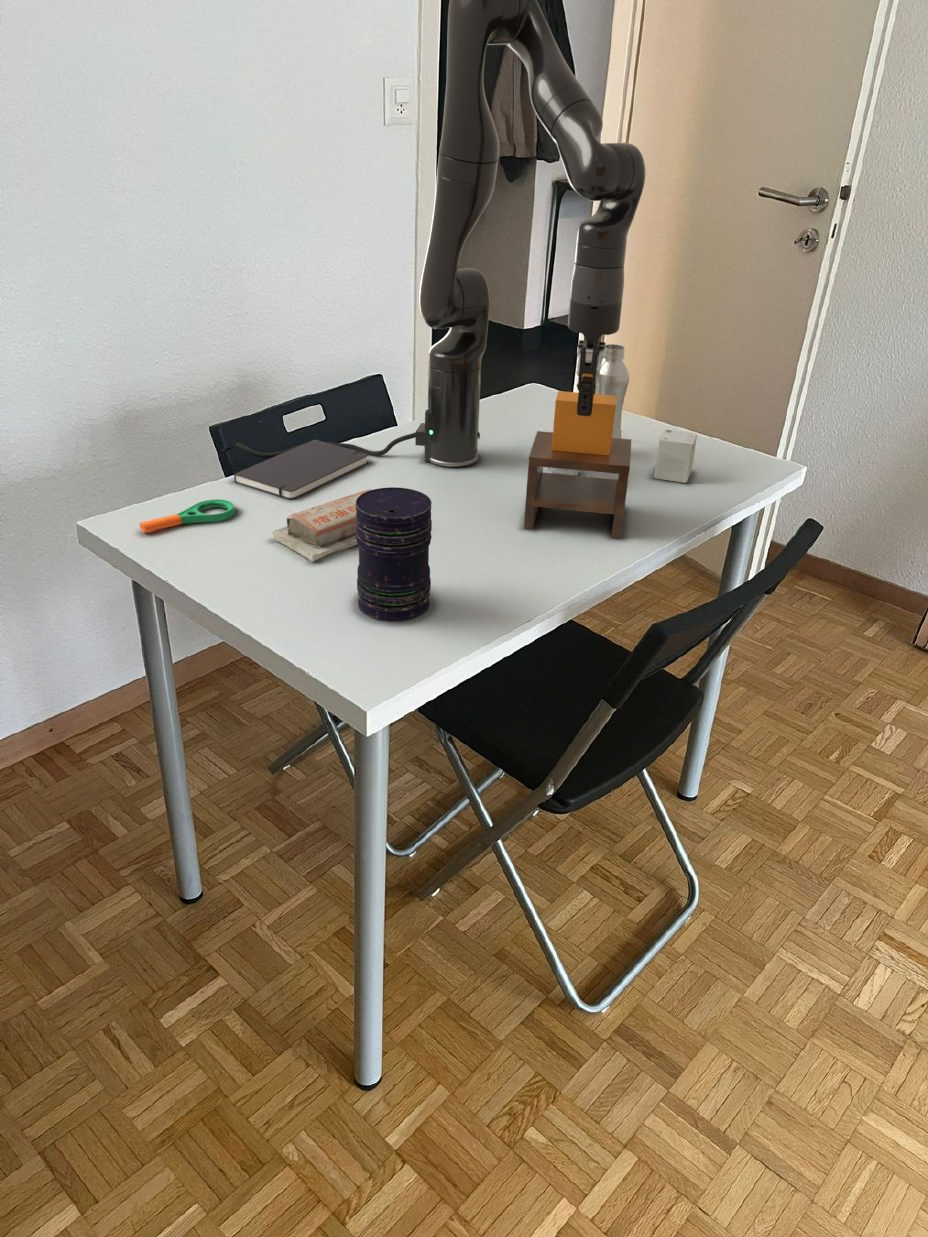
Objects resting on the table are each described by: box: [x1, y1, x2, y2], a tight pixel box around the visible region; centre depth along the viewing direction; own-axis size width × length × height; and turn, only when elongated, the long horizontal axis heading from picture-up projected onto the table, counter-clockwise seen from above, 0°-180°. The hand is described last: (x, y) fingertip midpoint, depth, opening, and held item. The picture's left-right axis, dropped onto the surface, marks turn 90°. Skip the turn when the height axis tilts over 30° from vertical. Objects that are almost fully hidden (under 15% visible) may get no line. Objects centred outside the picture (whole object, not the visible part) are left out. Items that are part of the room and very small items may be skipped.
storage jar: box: [356, 486, 433, 623], centre depth 128 cm, size 10×10×15 cm
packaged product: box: [272, 489, 371, 563], centre depth 149 cm, size 18×5×10 cm
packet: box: [552, 390, 617, 456], centre depth 150 cm, size 9×5×8 cm, turn 80°
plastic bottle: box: [595, 343, 630, 439], centre depth 179 cm, size 6×7×20 cm
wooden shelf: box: [523, 430, 632, 540], centre depth 155 cm, size 15×12×12 cm
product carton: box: [653, 429, 698, 484], centre depth 174 cm, size 6×6×7 cm
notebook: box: [233, 439, 369, 500], centre depth 171 cm, size 13×2×21 cm
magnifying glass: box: [139, 498, 235, 534], centre depth 152 cm, size 15×6×2 cm, turn 131°
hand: (585, 406), depth 149 cm, fingers open, 8 cm apart
